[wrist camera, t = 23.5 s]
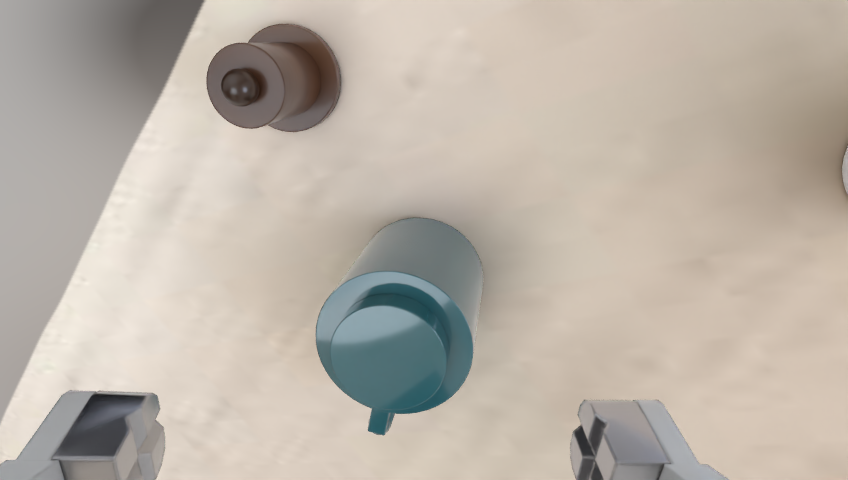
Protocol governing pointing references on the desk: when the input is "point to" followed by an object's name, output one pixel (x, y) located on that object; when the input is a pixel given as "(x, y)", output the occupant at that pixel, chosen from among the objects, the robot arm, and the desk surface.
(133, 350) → the desk surface
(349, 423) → the desk surface
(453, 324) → the teal mug
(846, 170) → the milk bottle
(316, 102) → the lid
